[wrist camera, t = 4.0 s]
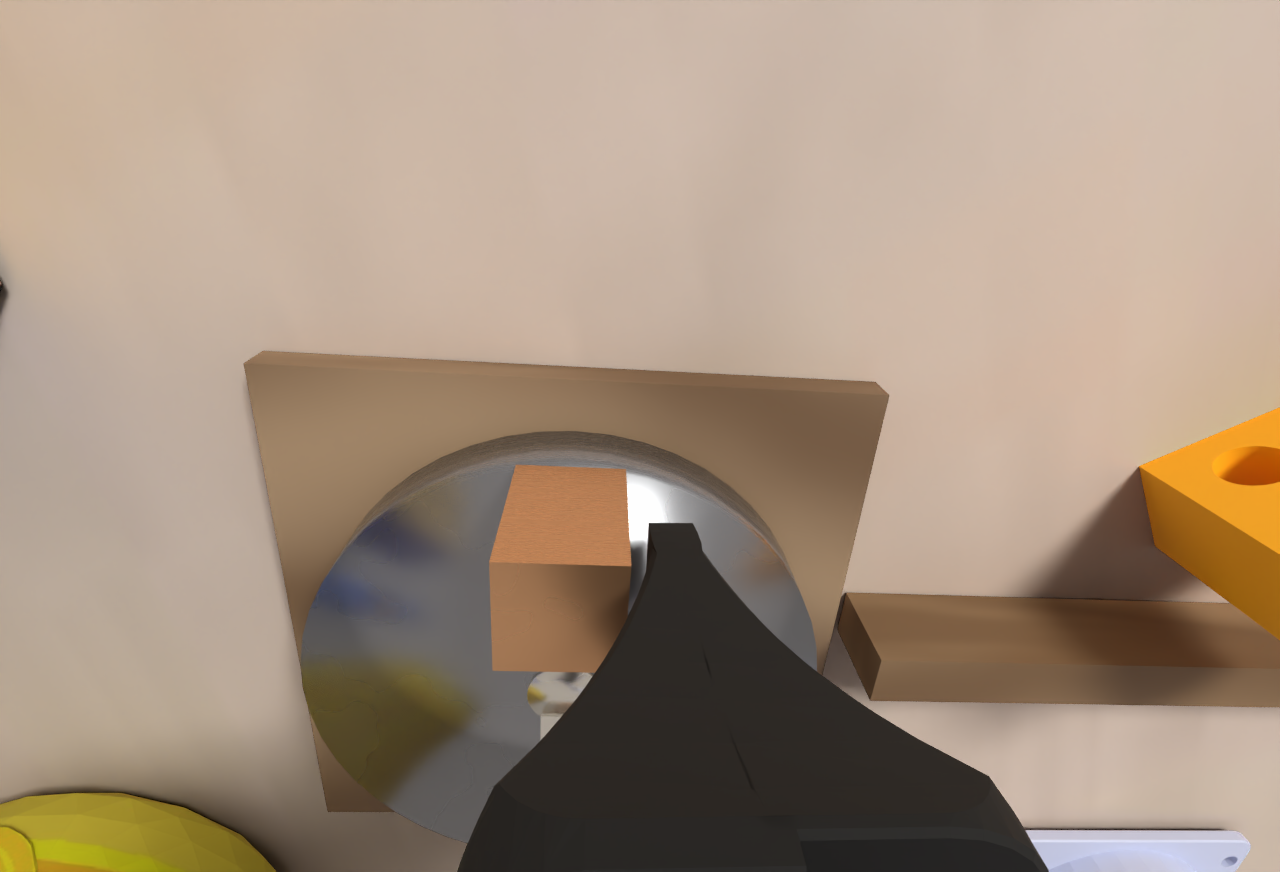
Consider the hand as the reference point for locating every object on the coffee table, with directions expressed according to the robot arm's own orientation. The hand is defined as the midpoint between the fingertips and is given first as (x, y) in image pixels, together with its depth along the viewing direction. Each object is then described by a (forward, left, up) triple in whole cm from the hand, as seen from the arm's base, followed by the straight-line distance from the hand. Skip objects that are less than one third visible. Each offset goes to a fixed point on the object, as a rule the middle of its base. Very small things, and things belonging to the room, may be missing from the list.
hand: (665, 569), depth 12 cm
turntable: (-4, +2, -3) cm, 5 cm away
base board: (-4, +2, -4) cm, 6 cm away
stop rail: (-4, -16, -4) cm, 17 cm away
